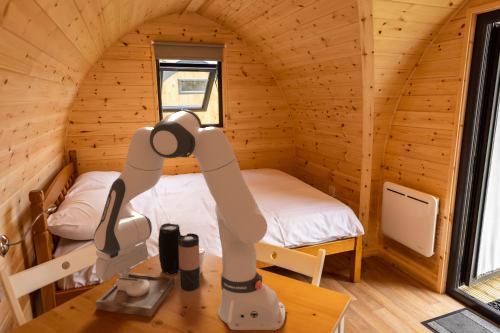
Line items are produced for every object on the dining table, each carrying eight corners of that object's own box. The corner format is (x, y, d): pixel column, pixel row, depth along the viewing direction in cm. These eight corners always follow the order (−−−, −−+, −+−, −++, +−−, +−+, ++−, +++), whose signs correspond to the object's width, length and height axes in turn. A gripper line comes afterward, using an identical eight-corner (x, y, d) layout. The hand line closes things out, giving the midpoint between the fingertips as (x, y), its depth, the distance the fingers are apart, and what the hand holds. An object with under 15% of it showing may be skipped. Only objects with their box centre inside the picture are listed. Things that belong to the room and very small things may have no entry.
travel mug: (196, 292, 125) (194, 242, 121) (176, 290, 127) (174, 240, 123) (203, 282, 132) (201, 234, 129) (184, 280, 134) (182, 232, 130)
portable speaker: (160, 266, 144) (158, 223, 141) (182, 264, 146) (181, 221, 143) (159, 276, 136) (156, 230, 132) (182, 274, 138) (181, 229, 134)
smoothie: (203, 275, 137) (203, 243, 134) (188, 275, 137) (187, 243, 134) (206, 268, 143) (205, 237, 141) (191, 268, 143) (190, 237, 141)
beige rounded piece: (153, 285, 126) (152, 275, 125) (143, 297, 118) (142, 286, 117) (124, 282, 127) (123, 272, 127) (112, 294, 120) (111, 283, 119)
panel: (175, 284, 131) (175, 276, 130) (151, 316, 111) (150, 307, 111) (127, 279, 134) (127, 271, 134) (96, 309, 115) (95, 300, 114)
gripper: (139, 233, 132) (141, 265, 135) (91, 253, 115) (94, 290, 118) (150, 236, 129) (152, 270, 132) (102, 257, 112) (106, 295, 115)
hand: (125, 279), depth 125 cm, fingers closed
